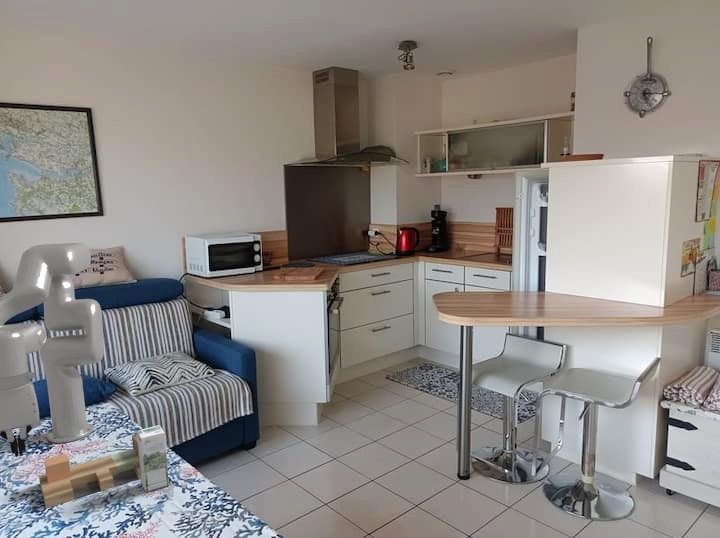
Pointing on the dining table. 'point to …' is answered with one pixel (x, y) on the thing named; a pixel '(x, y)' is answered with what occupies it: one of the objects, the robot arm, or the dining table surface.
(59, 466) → the orange block
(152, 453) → the syrup box
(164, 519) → the dining table surface
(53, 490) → the board
